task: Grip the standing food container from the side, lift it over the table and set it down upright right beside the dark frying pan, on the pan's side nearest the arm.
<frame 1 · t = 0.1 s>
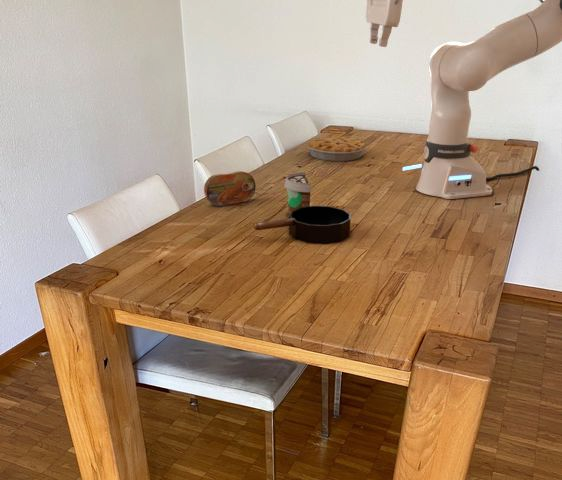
hand: (377, 45, 154), 39 cm above the table, tool pointing down, fingers open, 8 cm apart
pan: (319, 232, 147), on the table
pie: (336, 155, 215), on the table
tin: (230, 203, 167), on the table
food container: (295, 216, 158), on the table
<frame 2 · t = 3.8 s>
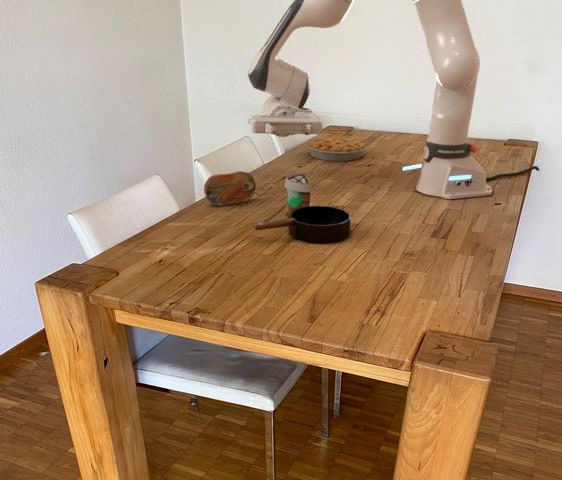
hand: (290, 131, 159), 19 cm above the table, tool horizontal, fingers open, 8 cm apart
nothing on the table moved.
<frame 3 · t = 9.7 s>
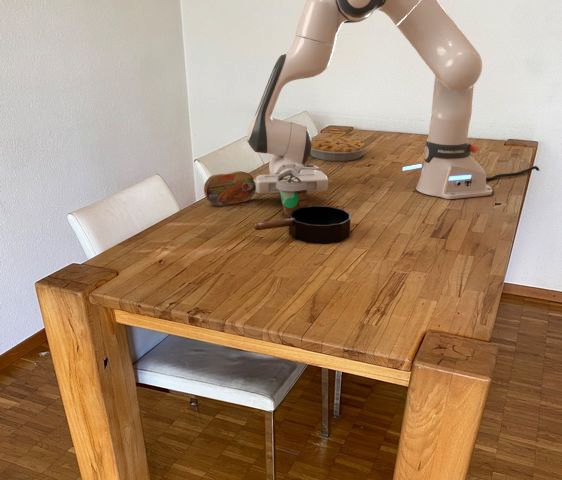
hand: (295, 191, 157), 6 cm above the table, tool horizontal, fingers closed on food container
food container: (292, 215, 157), on the table, touching gripper
everything else where it was.
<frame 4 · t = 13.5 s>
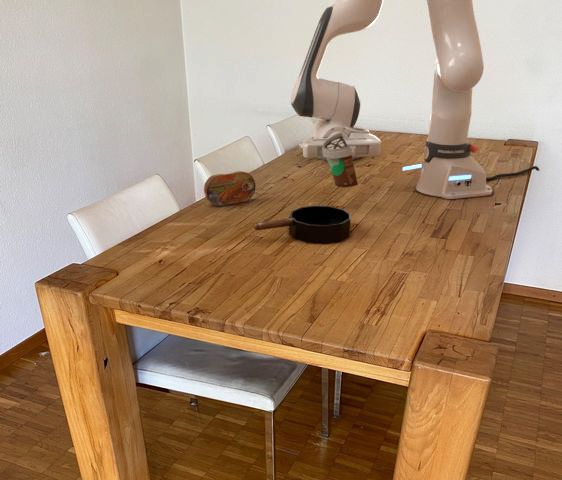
hand: (347, 155, 145), 17 cm above the table, tool horizontal, fingers closed on food container
food container: (342, 182, 146), point 11 cm above the table, touching gripper
everything else where it was.
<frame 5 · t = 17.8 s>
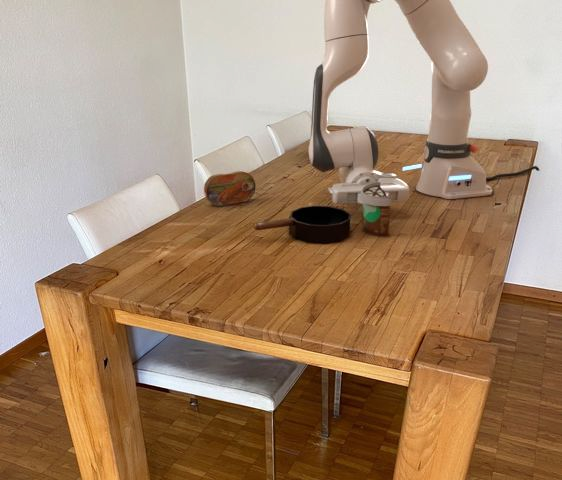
hand: (377, 202, 147), 6 cm above the table, tool horizontal, fingers open, 3 cm apart
food container: (372, 230, 148), on the table, touching gripper
everything else where it was.
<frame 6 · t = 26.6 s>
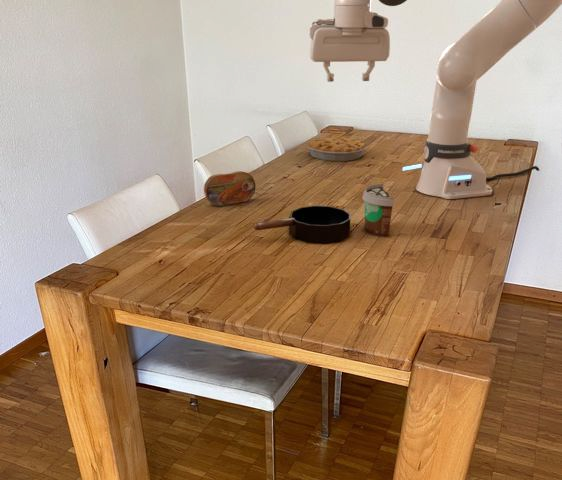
hand: (347, 81, 152), 31 cm above the table, tool pointing down, fingers open, 8 cm apart
food container: (372, 230, 149), on the table
everything else where it was.
at the end: food container inside the target area on the table beside the pan (1.2 cm from its centre), on the table; food container tilted 0°; the gripper is holding nothing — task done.
